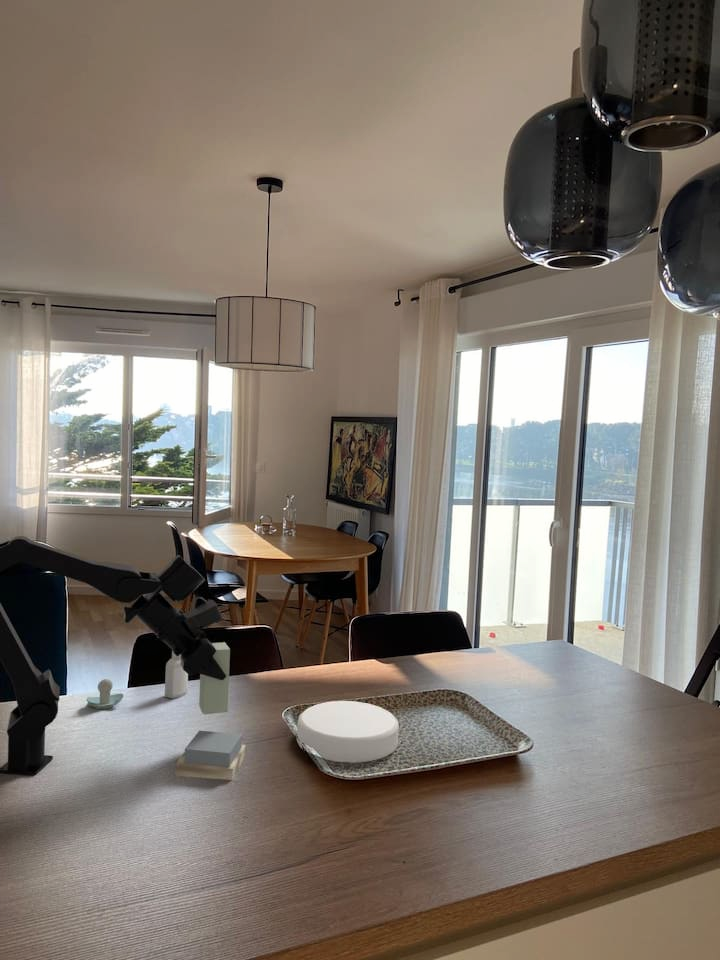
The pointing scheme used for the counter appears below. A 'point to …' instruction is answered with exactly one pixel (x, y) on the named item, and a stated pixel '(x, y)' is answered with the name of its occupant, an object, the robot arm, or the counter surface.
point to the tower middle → (213, 748)
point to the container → (348, 731)
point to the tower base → (210, 768)
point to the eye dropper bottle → (175, 678)
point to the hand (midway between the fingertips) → (221, 674)
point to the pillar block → (216, 684)
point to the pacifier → (104, 696)
